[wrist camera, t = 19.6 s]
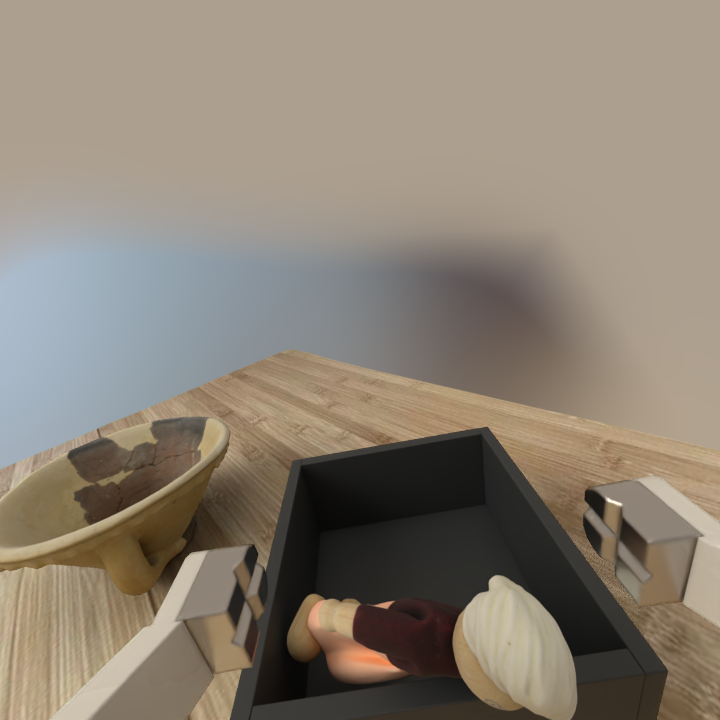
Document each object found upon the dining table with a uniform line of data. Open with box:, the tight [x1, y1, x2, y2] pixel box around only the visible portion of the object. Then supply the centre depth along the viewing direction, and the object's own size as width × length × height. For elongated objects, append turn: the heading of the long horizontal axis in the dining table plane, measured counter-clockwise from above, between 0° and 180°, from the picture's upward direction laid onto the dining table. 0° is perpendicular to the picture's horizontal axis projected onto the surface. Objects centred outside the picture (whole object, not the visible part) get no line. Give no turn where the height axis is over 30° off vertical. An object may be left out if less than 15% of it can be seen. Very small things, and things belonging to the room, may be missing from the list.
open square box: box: [230, 427, 668, 720], centre depth 20 cm, size 16×16×8 cm
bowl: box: [0, 417, 230, 595], centre depth 30 cm, size 18×18×10 cm
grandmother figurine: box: [287, 575, 577, 720], centre depth 13 cm, size 8×4×13 cm
